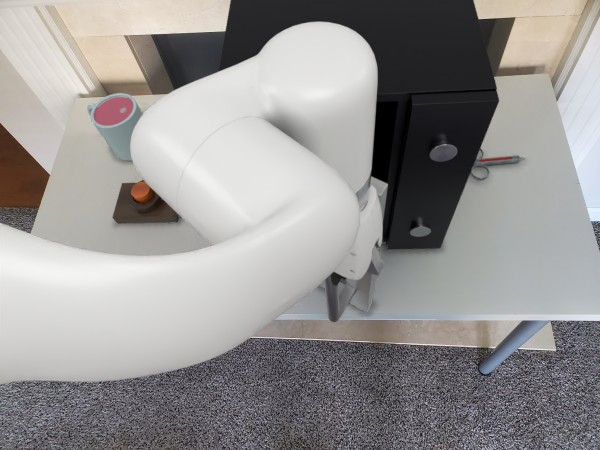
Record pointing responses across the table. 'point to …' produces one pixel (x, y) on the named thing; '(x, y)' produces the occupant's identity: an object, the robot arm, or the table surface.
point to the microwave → (402, 96)
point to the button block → (142, 208)
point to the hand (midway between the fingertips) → (332, 269)
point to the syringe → (494, 162)
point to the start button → (142, 192)
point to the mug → (116, 121)
